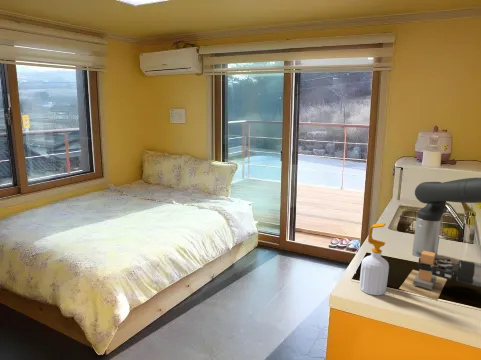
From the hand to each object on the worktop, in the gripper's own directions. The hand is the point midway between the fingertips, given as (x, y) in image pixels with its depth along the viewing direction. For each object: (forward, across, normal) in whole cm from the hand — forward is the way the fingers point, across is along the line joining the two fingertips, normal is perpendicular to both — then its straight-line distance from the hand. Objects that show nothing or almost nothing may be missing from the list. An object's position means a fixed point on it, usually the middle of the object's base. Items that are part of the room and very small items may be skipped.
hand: (418, 263), depth 132 cm
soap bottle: (+14, +11, +9) cm, 20 cm away
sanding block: (-3, 0, +7) cm, 7 cm away
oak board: (-2, 0, +9) cm, 9 cm away
